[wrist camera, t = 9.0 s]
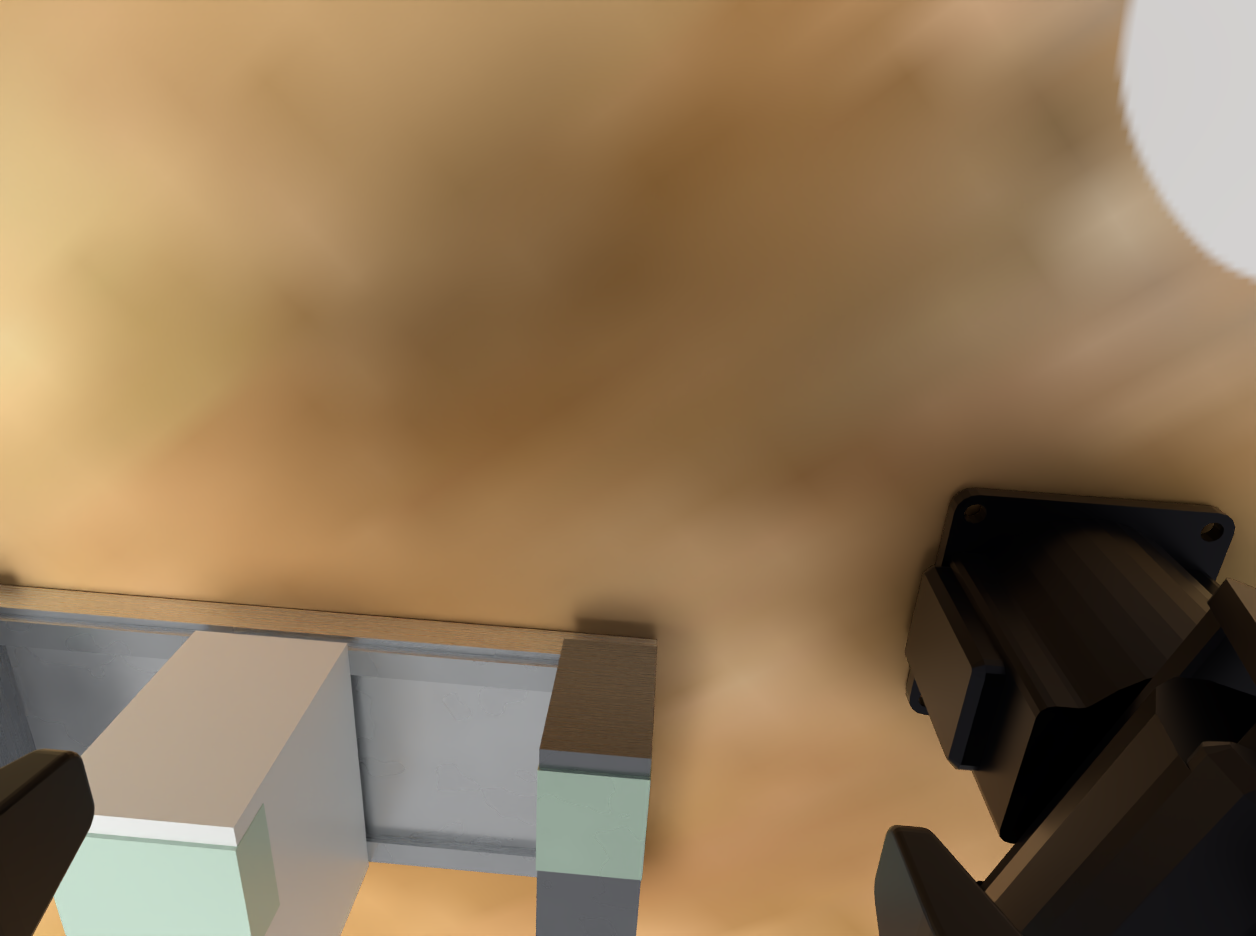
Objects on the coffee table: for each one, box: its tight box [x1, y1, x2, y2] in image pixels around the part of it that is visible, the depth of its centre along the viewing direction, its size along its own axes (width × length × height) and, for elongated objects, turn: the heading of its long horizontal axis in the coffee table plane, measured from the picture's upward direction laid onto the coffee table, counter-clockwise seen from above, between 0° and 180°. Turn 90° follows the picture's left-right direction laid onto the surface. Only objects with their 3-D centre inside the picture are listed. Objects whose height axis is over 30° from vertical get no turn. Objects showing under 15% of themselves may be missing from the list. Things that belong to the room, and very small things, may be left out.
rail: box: [0, 585, 657, 936], centre depth 22 cm, size 20×9×5 cm, turn 87°
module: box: [54, 630, 369, 936], centre depth 21 cm, size 4×8×6 cm, turn 177°
